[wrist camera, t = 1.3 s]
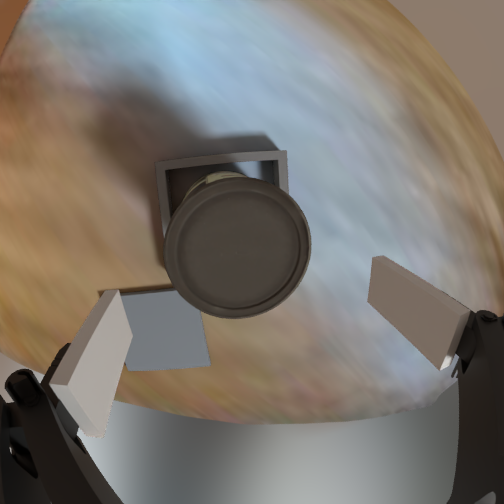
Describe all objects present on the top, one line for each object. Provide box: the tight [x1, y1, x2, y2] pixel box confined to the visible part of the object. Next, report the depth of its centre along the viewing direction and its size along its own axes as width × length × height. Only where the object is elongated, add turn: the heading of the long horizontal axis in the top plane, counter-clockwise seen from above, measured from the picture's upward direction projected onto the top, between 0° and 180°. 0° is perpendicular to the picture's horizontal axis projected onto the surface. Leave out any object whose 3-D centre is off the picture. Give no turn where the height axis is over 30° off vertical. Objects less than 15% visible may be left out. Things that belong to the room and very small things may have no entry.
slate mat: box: [120, 288, 211, 371], centre depth 35 cm, size 13×13×1 cm
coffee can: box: [163, 171, 311, 319], centre depth 25 cm, size 10×10×14 cm
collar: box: [155, 150, 289, 285], centre depth 30 cm, size 14×14×2 cm
